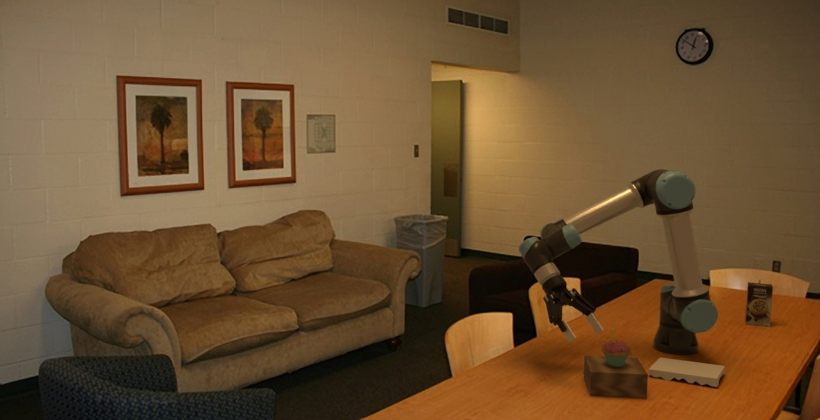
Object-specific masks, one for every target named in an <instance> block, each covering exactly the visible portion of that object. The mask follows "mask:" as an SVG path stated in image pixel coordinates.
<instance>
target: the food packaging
mask: <svg viewBox="0 0 820 420" xmlns="http://www.w3.org/2000/svg"><path fill="white" fill-rule="evenodd" d="M725 371H726V366H725V365H719V364H714V363H713V364H712V363H704V362H698V361H697V362H696V361H689V360H683V359H682V360H681V359H673V358H668V357H659V358H658V359H657V360H656V361H655V362H654V363H653V364H652V365H651V366H650V367H649V369H648V376H652V377H653V378H661V379H663V380H665V381H672V379H676V380H677V381H680V380H682V379H683V380H685V381H686V383H688V384H694V383H697V384H698V385H700V386H703V385H704V386H705V385H708V386H710V387H714V388H717V387H718V386H719V383H720V378H721V377H722V376H723V374H724V373H725Z"/></svg>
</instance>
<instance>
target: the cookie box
mask: <svg viewBox="0 0 820 420" xmlns="http://www.w3.org/2000/svg"><path fill="white" fill-rule="evenodd" d="M773 291H774V288H773V284H769V283H759V282H747V291H746V302H745V315H744V324H745V325H749V326H751V325H752V326H761V327H771V317H772V316H771V315H772V304H773V303H772V302H773Z"/></svg>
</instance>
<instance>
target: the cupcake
mask: <svg viewBox="0 0 820 420" xmlns="http://www.w3.org/2000/svg"><path fill="white" fill-rule="evenodd" d="M610 331H611V340H609V341H606V342H604V343H603V344H602V345H601V353H602V354H603V355H604V356H606V360H607V364H608V365H610V366H613V367H622V366H624V364H625V361H626V359H627V357H629V356H631V355H632V351H631V350H632V348H631V346H629V344H627V343H626V342H625V341H623V340H615V330H614V328H613V327H611V329H610Z"/></svg>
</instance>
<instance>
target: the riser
mask: <svg viewBox="0 0 820 420" xmlns="http://www.w3.org/2000/svg"><path fill="white" fill-rule="evenodd" d="M583 358H584V362H583V379H584V382H585V384H586V387H587V391H588V393H589V396H595V397H597V396H598V397H616V398H618V397H619V398H638V399H639V398H640V399H641V398H642V399H647V398H648V379H649V373H648V372H647V370H646V369H645V368H644V366H643V364H642V363H641V361H640V359H639V358H638V357H635V356H634V357H632V356H631V357H629V356H628V357H627V359H626V361H625V364H624V366H622V367H613V366H610V365H608V364H607V360H606V356H605V355H584V357H583Z"/></svg>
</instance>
